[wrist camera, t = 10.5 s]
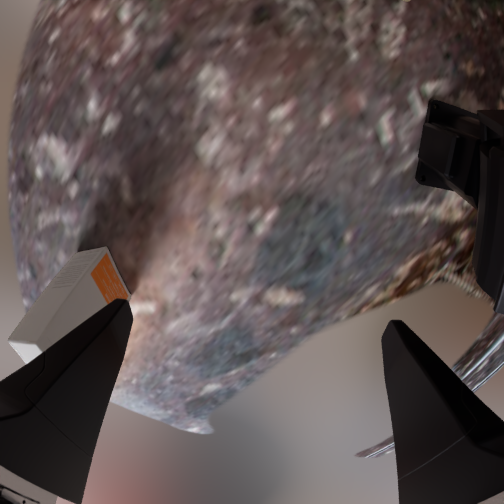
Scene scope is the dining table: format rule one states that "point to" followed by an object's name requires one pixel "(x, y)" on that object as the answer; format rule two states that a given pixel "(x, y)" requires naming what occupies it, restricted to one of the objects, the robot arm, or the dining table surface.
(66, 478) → the robot arm
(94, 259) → the skincare box
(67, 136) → the dining table surface
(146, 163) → the dining table surface
